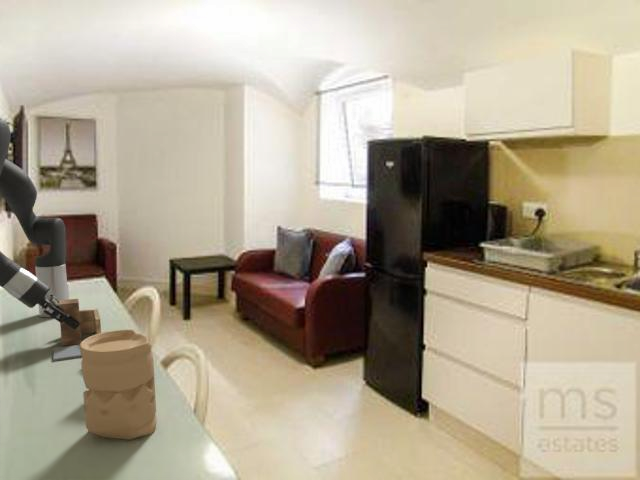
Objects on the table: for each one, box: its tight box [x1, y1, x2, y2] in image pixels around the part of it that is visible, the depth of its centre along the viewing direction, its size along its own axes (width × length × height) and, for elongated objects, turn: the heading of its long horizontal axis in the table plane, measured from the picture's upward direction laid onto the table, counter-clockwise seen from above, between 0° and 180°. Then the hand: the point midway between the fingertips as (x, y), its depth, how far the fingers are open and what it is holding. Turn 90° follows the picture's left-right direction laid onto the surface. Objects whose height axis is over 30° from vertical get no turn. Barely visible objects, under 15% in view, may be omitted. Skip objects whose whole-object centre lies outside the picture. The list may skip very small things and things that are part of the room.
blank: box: [59, 298, 82, 347], centre depth 147 cm, size 5×5×12 cm
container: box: [79, 328, 157, 441], centre depth 97 cm, size 13×13×18 cm
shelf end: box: [79, 308, 102, 335], centre depth 151 cm, size 9×13×7 cm
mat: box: [53, 344, 83, 362], centre depth 140 cm, size 9×9×1 cm
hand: (77, 323), depth 148 cm, fingers closed on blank, 5 cm apart
